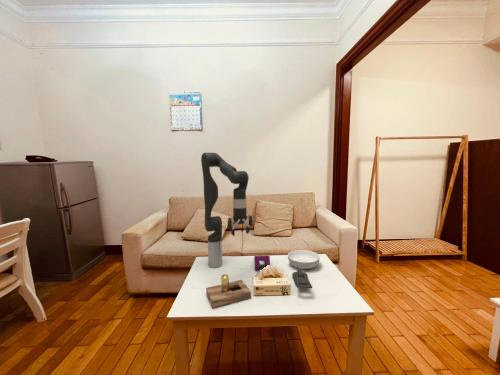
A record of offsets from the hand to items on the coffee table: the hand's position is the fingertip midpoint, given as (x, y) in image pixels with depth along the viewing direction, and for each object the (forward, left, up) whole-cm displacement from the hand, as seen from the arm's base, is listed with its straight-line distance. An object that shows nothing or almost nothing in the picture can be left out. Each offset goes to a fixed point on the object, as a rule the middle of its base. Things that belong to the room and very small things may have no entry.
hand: (240, 234), depth 135 cm
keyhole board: (+12, -12, -28) cm, 33 cm away
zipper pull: (+20, +29, -28) cm, 45 cm away
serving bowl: (-1, +45, -28) cm, 53 cm away
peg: (+12, -14, -28) cm, 33 cm away
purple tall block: (-13, +20, -29) cm, 37 cm away
